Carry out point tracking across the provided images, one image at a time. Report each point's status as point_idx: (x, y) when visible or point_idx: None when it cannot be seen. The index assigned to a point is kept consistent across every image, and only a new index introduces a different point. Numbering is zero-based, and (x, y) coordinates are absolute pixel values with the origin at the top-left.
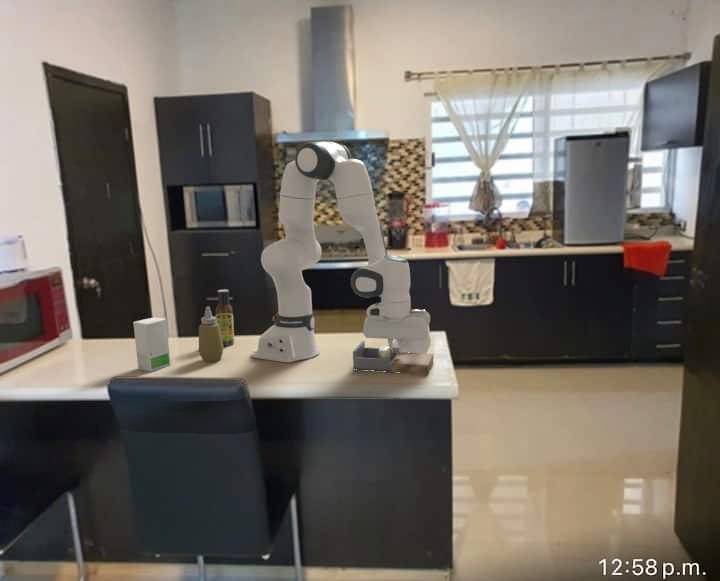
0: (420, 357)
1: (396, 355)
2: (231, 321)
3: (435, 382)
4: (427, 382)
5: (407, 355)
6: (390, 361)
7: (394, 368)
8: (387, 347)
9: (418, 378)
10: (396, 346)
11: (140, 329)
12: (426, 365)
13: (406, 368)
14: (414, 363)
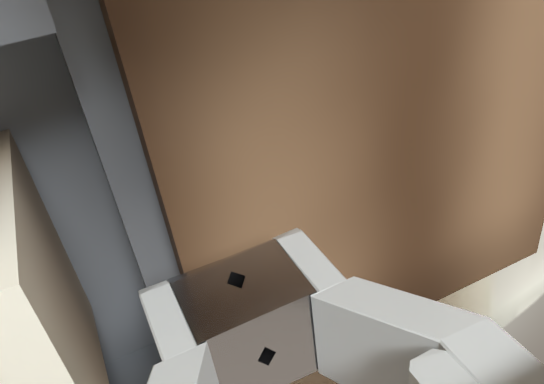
0: (478, 78)
1: (70, 23)
2: None
3: (508, 282)
4: (468, 308)
5: (312, 80)
6: (20, 132)
7: None
8: (29, 374)
9: None
10: (255, 341)
11: None
12: (524, 257)
13: None
14: (433, 277)
